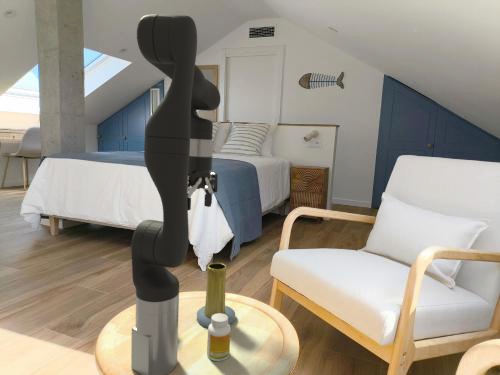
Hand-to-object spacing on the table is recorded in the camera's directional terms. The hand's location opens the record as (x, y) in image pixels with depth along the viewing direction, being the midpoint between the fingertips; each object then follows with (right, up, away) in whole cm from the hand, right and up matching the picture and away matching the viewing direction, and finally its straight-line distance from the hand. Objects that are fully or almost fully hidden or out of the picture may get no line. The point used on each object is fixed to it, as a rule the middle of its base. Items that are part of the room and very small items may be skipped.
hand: (197, 208), depth 106 cm
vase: (+6, -30, -5) cm, 31 cm away
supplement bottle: (+8, -34, -22) cm, 41 cm away
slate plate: (+6, -32, -5) cm, 33 cm away
